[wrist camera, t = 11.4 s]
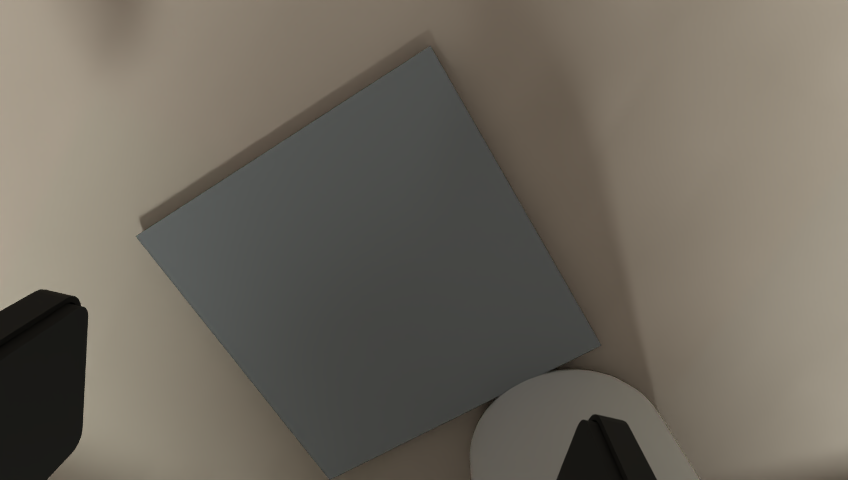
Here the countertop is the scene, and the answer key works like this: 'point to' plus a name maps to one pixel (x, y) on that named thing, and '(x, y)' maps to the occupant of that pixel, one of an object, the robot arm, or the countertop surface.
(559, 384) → the beverage can
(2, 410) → the robot arm
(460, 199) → the charcoal mat
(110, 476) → the countertop surface
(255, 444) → the countertop surface
